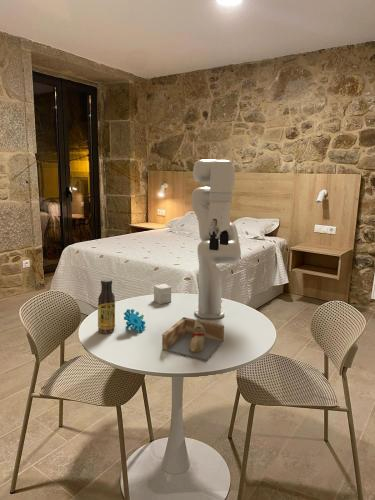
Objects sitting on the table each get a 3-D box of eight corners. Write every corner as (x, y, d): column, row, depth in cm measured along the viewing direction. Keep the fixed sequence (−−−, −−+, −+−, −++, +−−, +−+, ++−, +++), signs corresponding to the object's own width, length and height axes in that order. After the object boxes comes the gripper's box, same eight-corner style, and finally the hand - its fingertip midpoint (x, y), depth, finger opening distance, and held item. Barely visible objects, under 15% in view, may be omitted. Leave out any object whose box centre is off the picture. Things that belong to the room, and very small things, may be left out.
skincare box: (165, 298, 174) (165, 283, 172) (171, 302, 169) (171, 286, 167) (153, 300, 171) (153, 285, 169) (159, 304, 166) (159, 288, 164)
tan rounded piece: (210, 346, 126) (211, 319, 123) (194, 354, 120) (195, 325, 118) (199, 341, 129) (199, 314, 127) (183, 348, 124) (183, 320, 122)
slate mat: (183, 332, 138) (183, 330, 138) (223, 341, 132) (223, 339, 131) (162, 350, 124) (162, 348, 124) (206, 361, 117) (206, 359, 117)
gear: (136, 333, 133) (121, 310, 135) (126, 342, 135) (111, 319, 138) (152, 326, 143) (138, 305, 145) (142, 334, 145) (129, 313, 147)
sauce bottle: (100, 335, 134) (98, 283, 130) (96, 329, 140) (94, 278, 135) (118, 332, 137) (116, 281, 133) (113, 325, 143) (111, 276, 138)
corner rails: (183, 332, 138) (183, 317, 137) (223, 341, 132) (224, 325, 130) (162, 350, 124) (162, 334, 123) (206, 361, 117) (206, 344, 116)
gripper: (219, 195, 134) (217, 241, 138) (200, 199, 119) (199, 250, 122) (239, 196, 131) (237, 243, 135) (222, 200, 116) (220, 253, 119)
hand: (219, 247), depth 129 cm, fingers open, 9 cm apart
